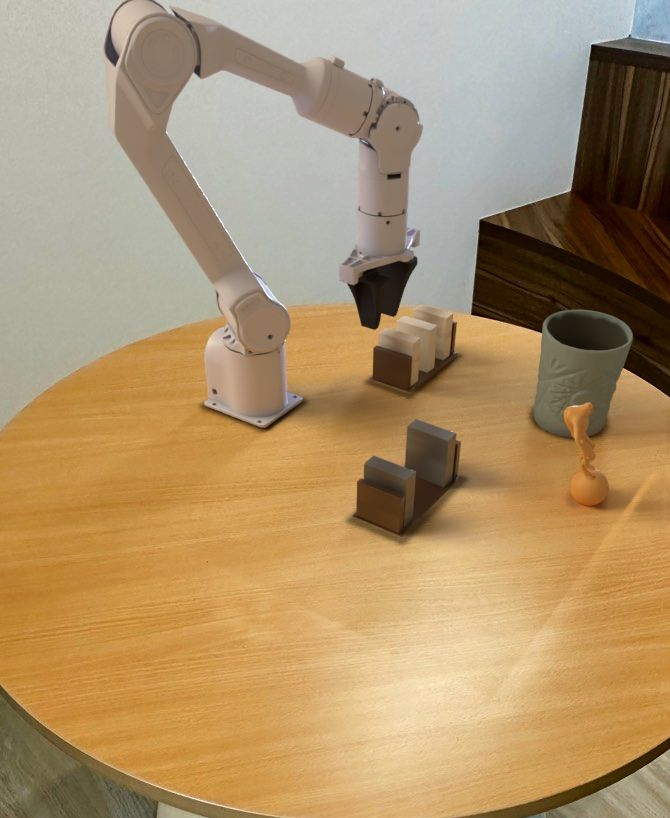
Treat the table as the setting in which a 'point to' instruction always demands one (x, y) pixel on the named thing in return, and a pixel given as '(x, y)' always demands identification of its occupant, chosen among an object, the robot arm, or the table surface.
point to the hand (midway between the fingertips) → (379, 320)
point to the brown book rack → (409, 479)
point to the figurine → (585, 459)
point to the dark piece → (413, 351)
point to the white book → (427, 339)
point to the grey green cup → (579, 367)
